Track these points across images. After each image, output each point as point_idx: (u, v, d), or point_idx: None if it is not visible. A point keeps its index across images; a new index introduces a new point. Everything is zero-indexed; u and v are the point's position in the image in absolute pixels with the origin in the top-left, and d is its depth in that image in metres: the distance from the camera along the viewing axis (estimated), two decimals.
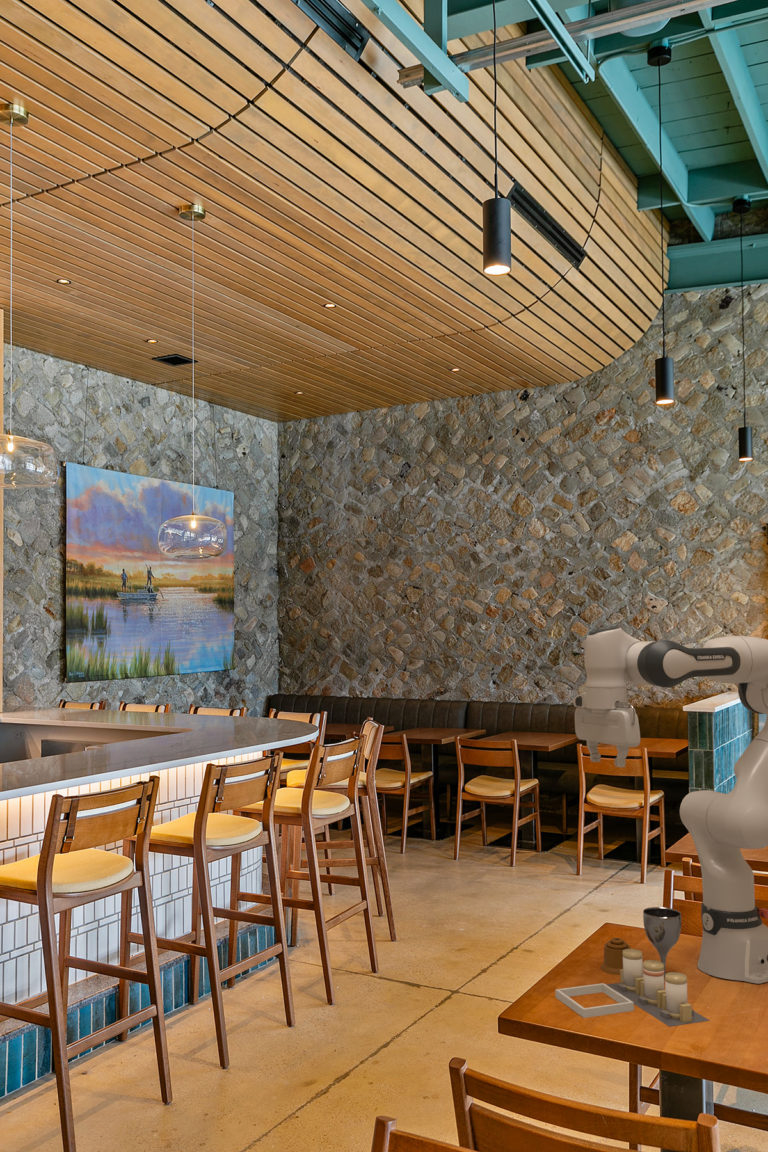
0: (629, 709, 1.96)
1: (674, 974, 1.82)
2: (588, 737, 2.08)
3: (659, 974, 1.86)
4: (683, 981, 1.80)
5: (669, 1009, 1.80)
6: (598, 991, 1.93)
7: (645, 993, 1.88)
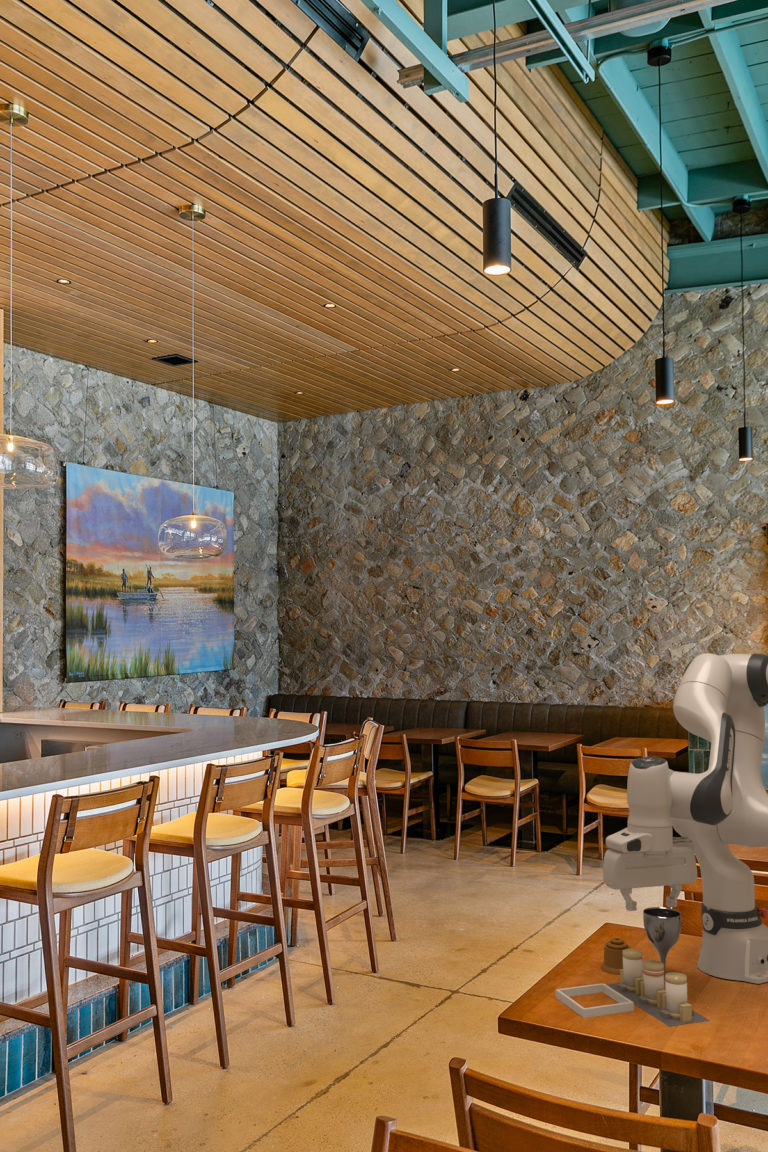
0: (689, 843, 1.93)
1: (674, 974, 1.82)
2: (637, 884, 1.87)
3: (659, 974, 1.86)
4: (683, 981, 1.80)
5: (669, 1009, 1.80)
6: (598, 991, 1.93)
7: (645, 993, 1.88)
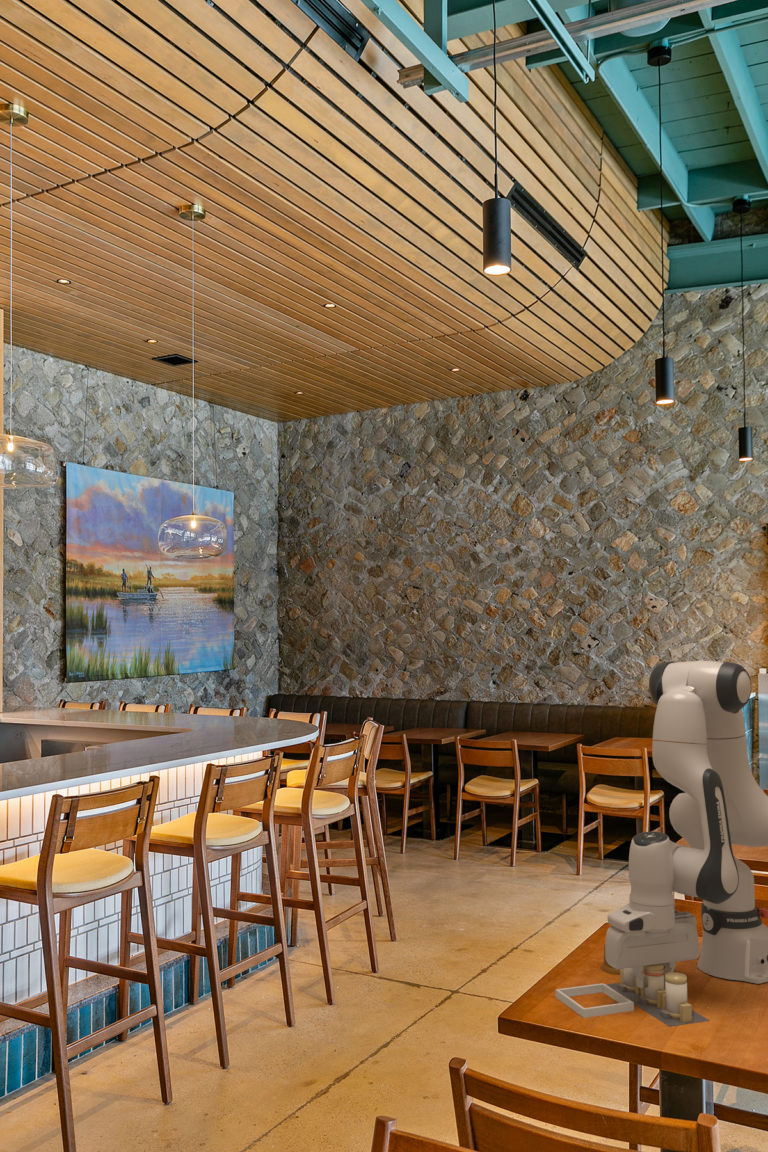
0: (692, 918, 1.92)
1: (674, 974, 1.82)
2: (639, 962, 1.86)
3: (659, 974, 1.86)
4: (683, 981, 1.80)
5: (669, 1009, 1.80)
6: (598, 991, 1.93)
7: (645, 993, 1.88)
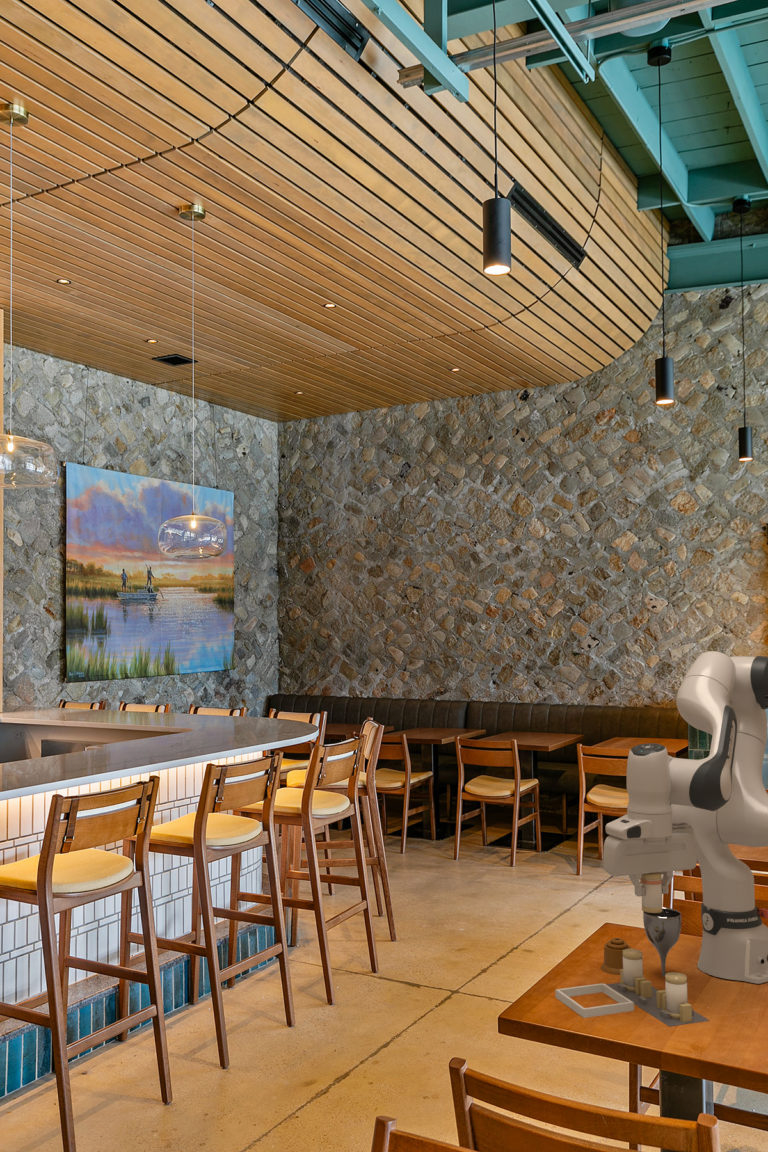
0: (689, 829, 1.93)
1: (674, 974, 1.82)
2: (637, 870, 1.87)
3: (657, 882, 1.88)
4: (683, 981, 1.80)
5: (669, 1009, 1.80)
6: (598, 991, 1.93)
7: (643, 901, 1.89)
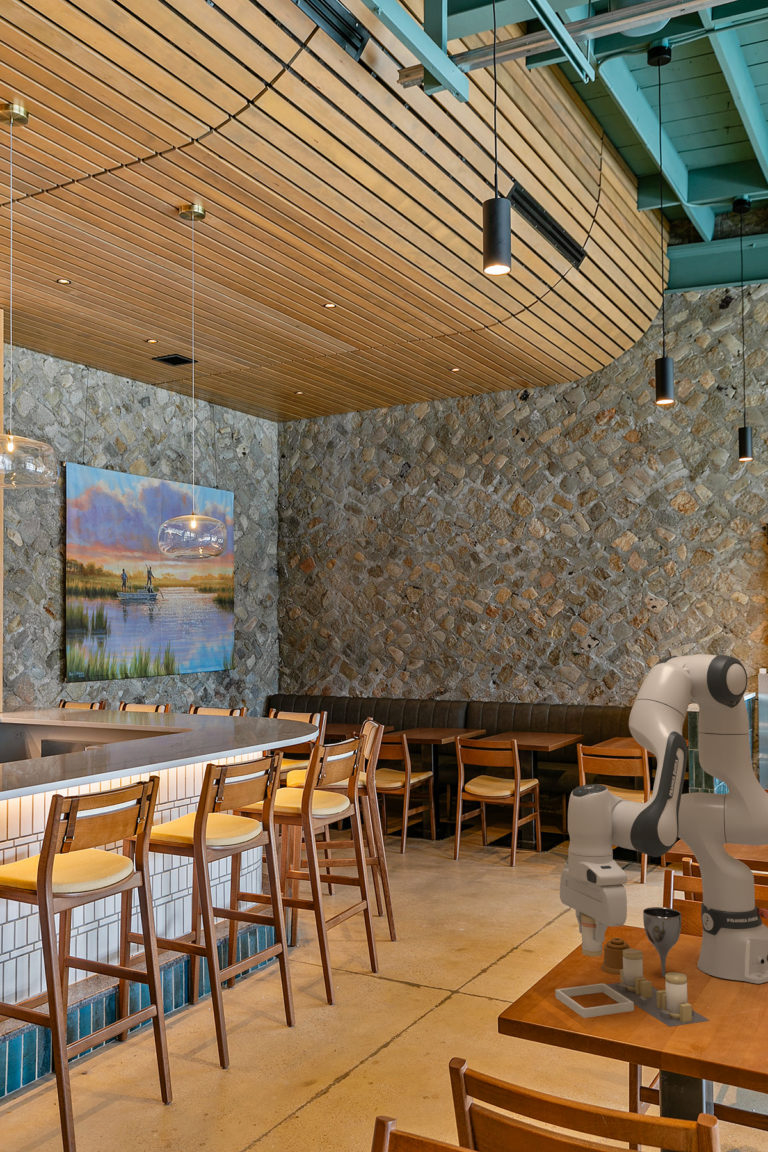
0: None
1: (674, 974, 1.82)
2: None
3: None
4: (683, 981, 1.80)
5: (669, 1009, 1.80)
6: (598, 991, 1.93)
7: (597, 946, 1.86)
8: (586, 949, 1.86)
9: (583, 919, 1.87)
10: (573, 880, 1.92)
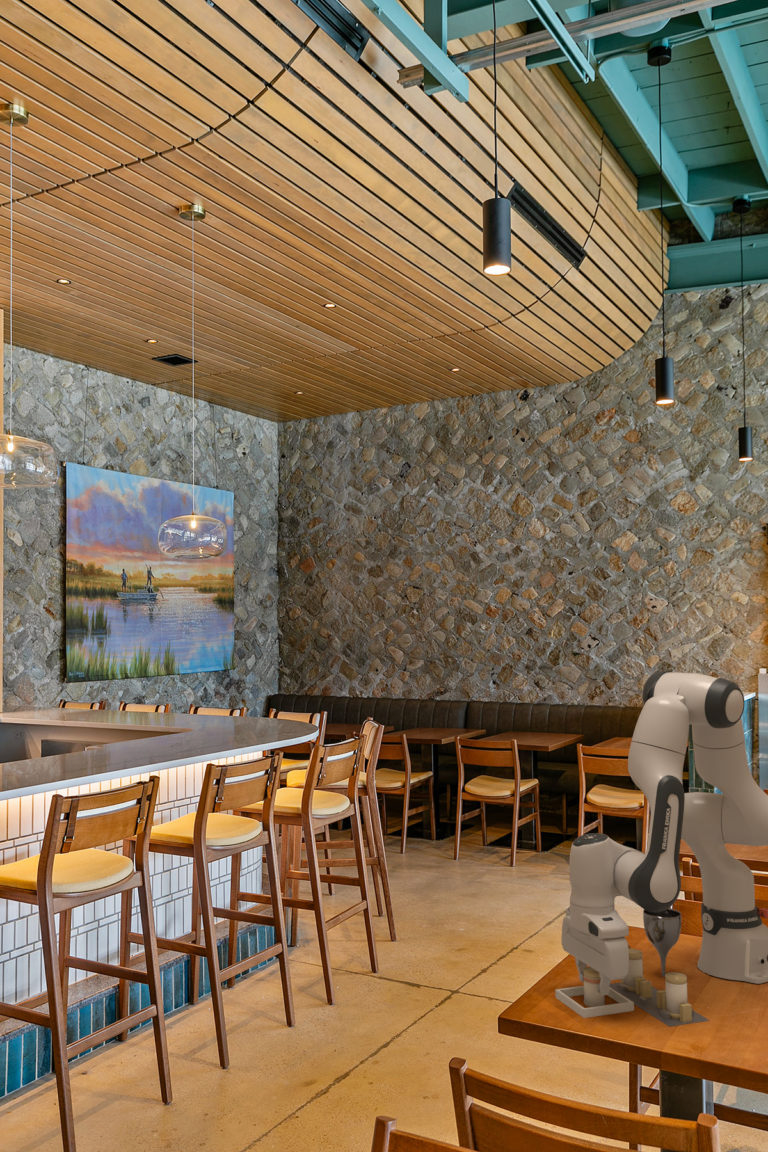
0: None
1: (674, 974, 1.82)
2: None
3: None
4: (683, 981, 1.80)
5: (669, 1009, 1.80)
6: None
7: (599, 1002, 1.85)
8: (588, 1005, 1.86)
9: (585, 974, 1.87)
10: (575, 929, 1.91)
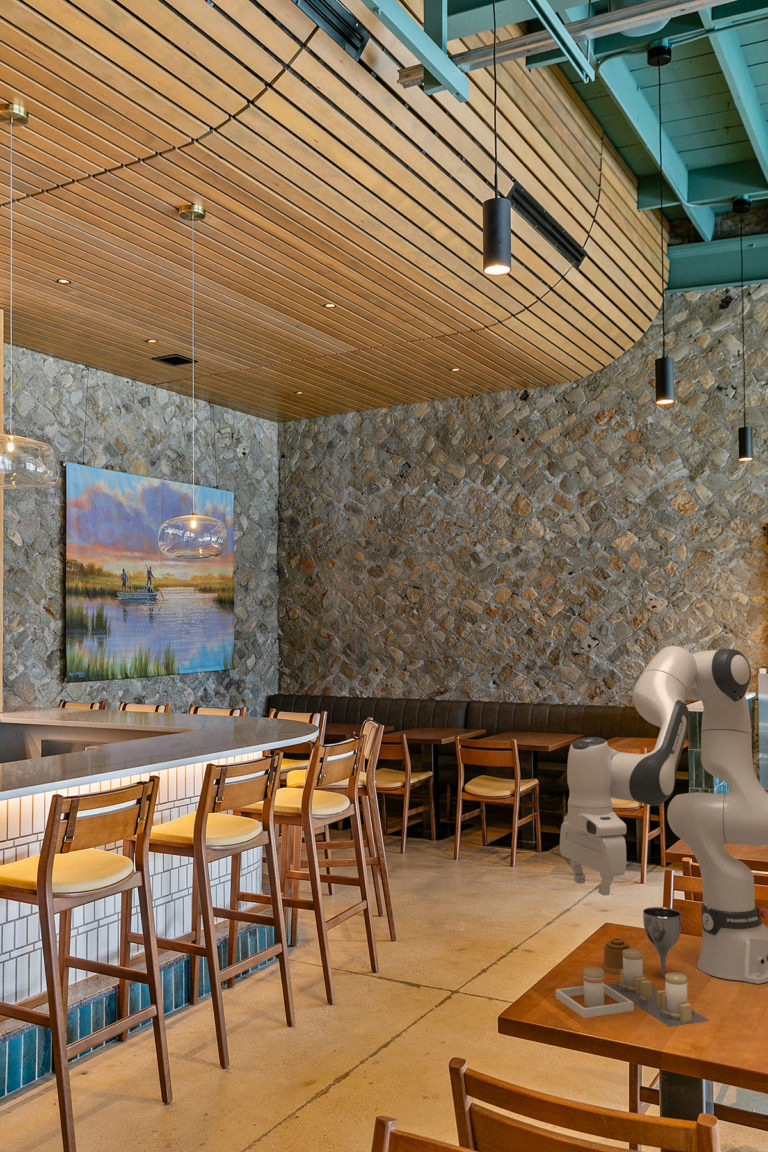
0: None
1: (674, 974, 1.82)
2: None
3: None
4: (683, 981, 1.80)
5: (669, 1009, 1.80)
6: None
7: (599, 1002, 1.85)
8: (588, 1004, 1.86)
9: (585, 974, 1.87)
10: (573, 832, 1.93)
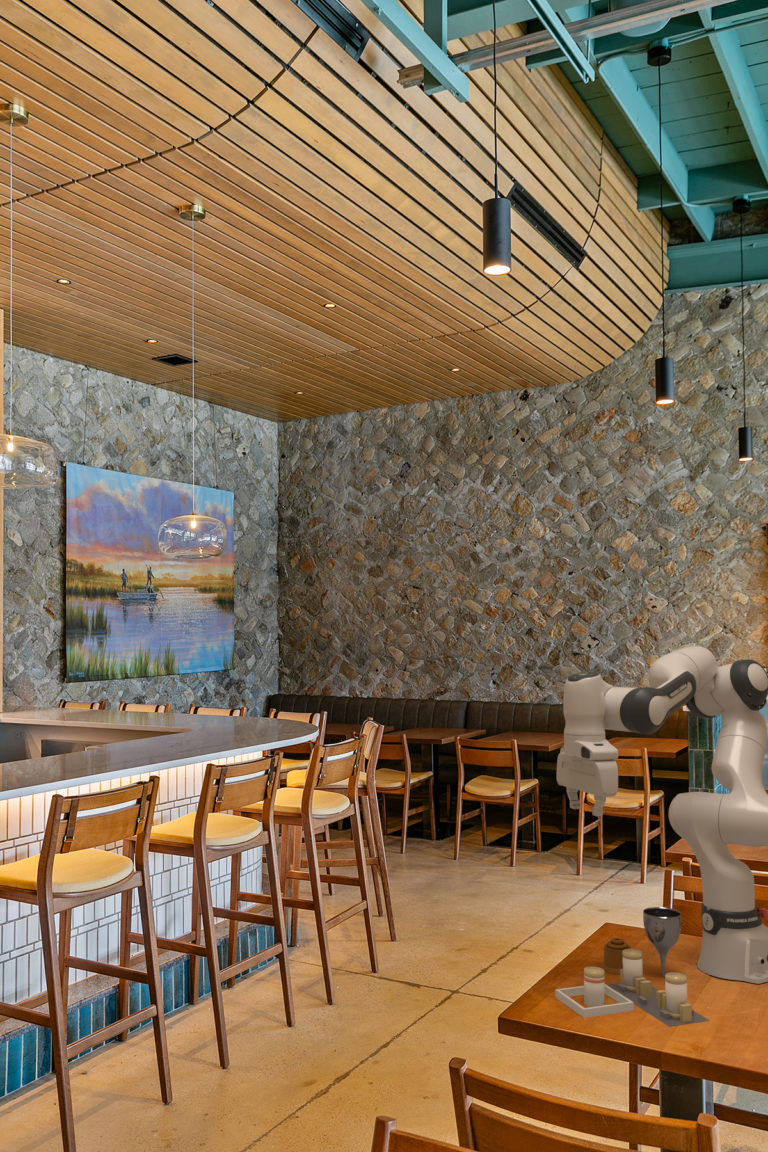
0: None
1: (674, 974, 1.82)
2: None
3: None
4: (683, 981, 1.80)
5: (669, 1009, 1.80)
6: None
7: (599, 1002, 1.85)
8: (588, 1004, 1.86)
9: (585, 974, 1.87)
10: (569, 761, 2.06)
